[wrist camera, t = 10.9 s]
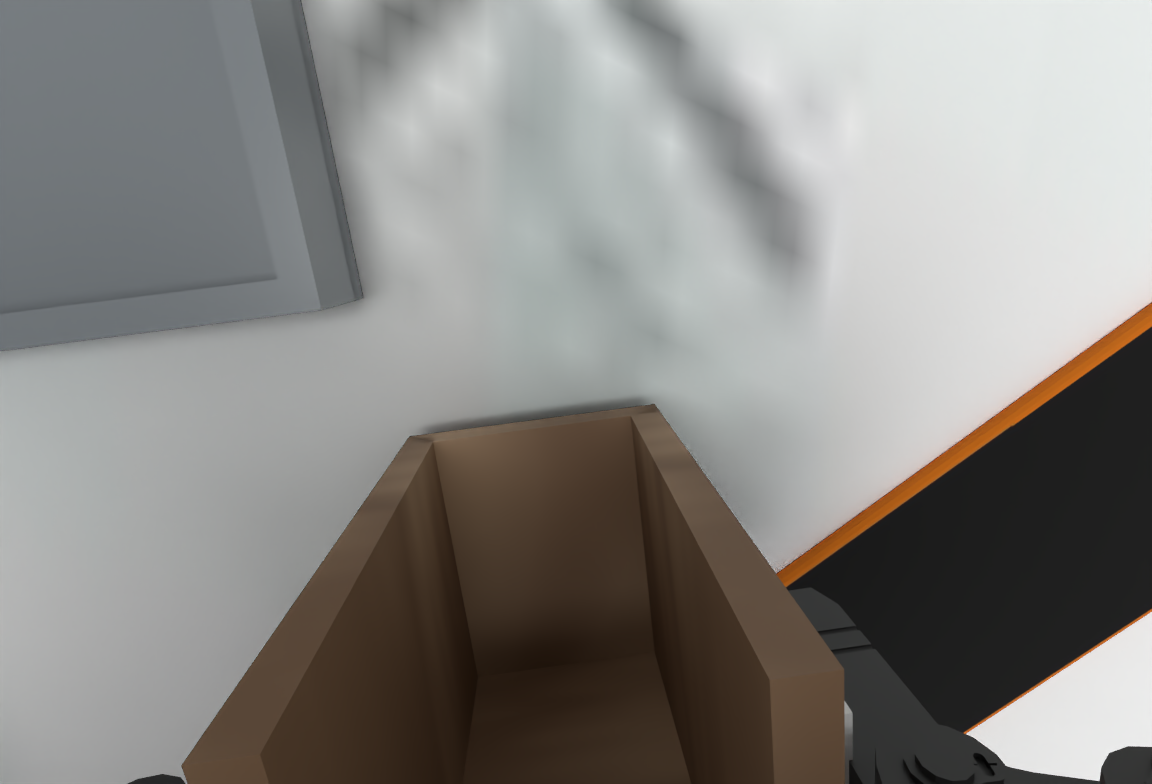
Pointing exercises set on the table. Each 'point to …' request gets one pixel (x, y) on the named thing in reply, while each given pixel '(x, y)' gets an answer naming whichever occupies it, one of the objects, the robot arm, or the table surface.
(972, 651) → the smartphone
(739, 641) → the brown wooden bin
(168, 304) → the tray
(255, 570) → the table surface
